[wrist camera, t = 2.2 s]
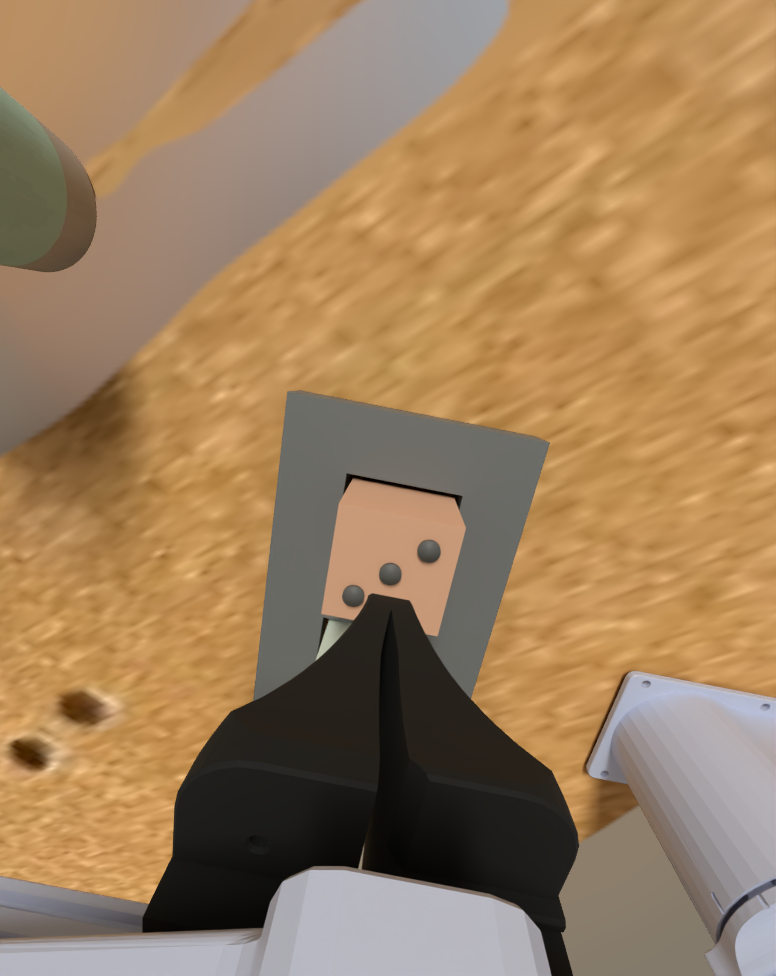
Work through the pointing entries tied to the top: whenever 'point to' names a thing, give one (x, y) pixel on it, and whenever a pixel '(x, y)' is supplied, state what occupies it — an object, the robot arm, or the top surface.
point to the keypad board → (405, 460)
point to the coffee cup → (41, 195)
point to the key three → (393, 550)
